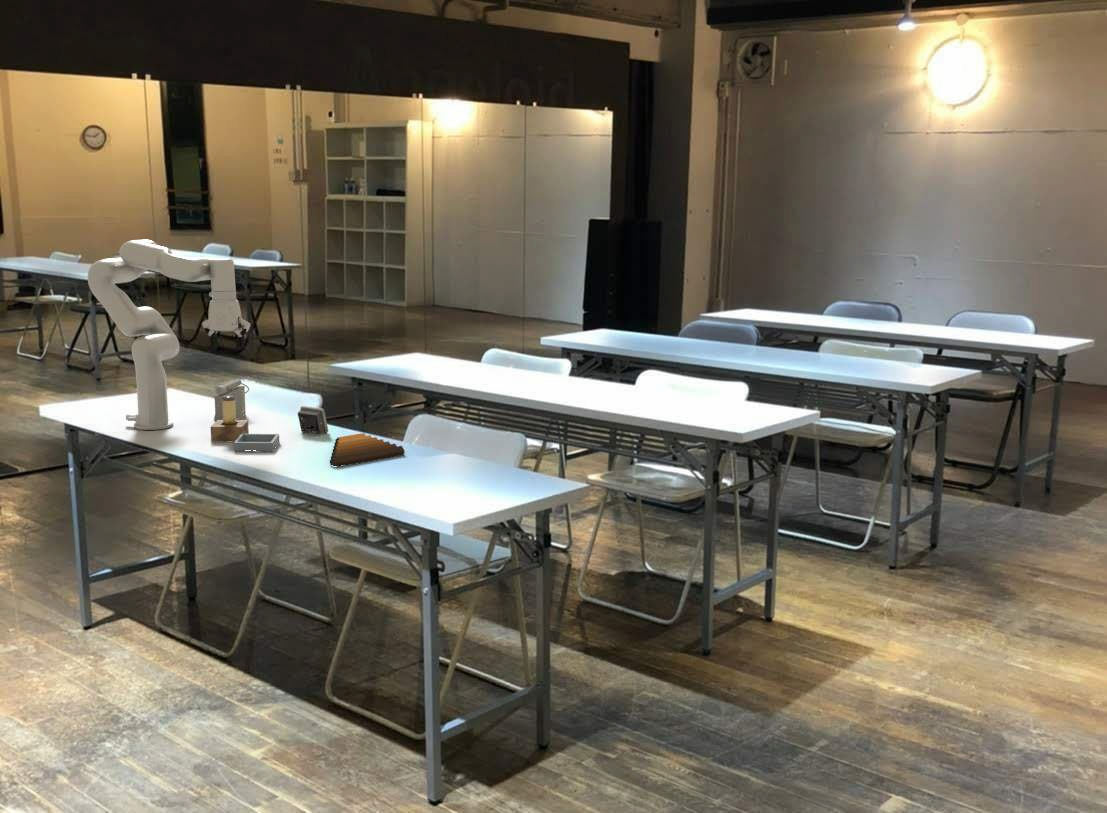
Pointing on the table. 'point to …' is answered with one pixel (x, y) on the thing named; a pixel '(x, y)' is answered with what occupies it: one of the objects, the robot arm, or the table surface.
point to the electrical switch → (312, 420)
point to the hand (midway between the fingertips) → (227, 348)
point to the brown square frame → (228, 430)
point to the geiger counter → (230, 390)
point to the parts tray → (256, 442)
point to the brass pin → (229, 410)
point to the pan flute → (362, 450)
